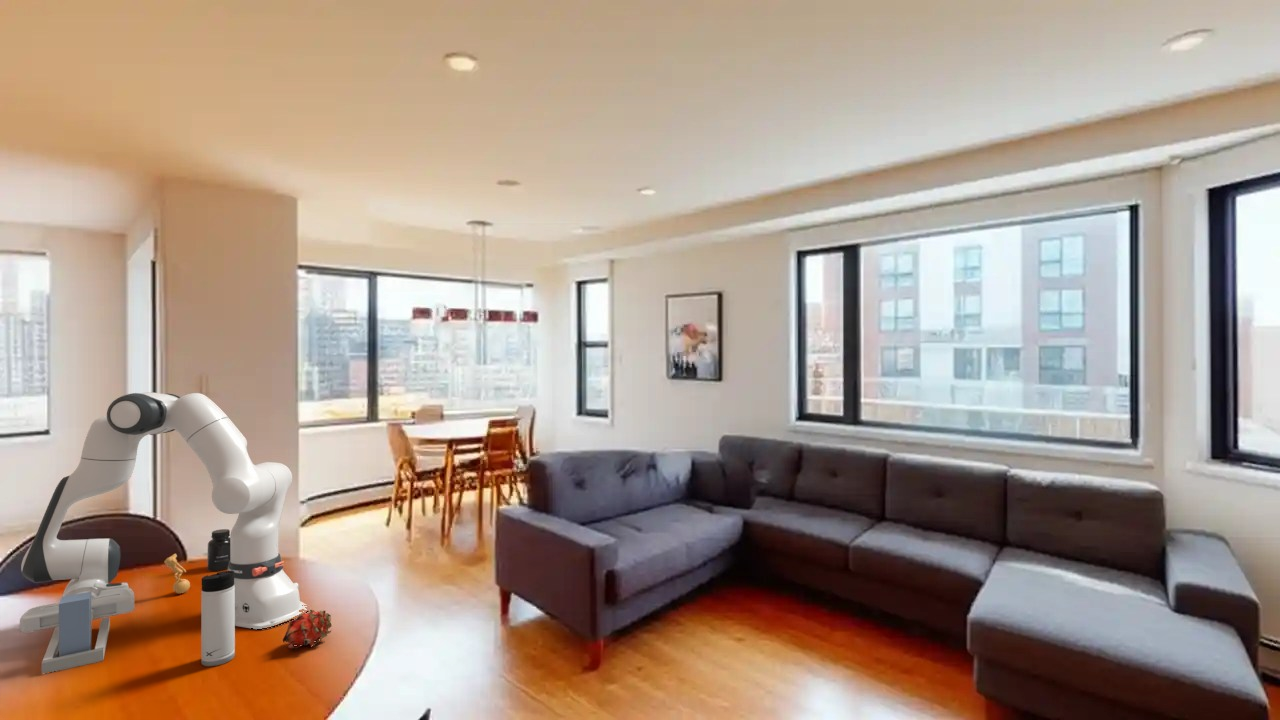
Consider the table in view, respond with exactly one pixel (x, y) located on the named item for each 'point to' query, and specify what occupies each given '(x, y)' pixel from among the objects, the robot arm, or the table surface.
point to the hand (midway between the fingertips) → (77, 622)
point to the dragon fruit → (307, 628)
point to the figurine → (180, 584)
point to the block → (74, 624)
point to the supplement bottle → (219, 550)
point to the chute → (77, 659)
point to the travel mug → (218, 618)
